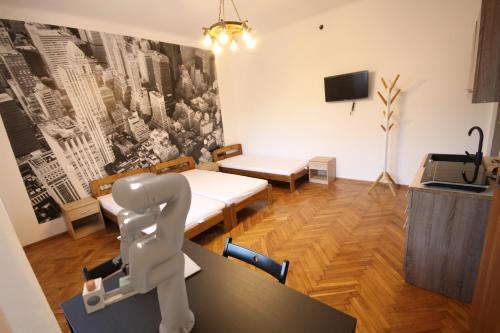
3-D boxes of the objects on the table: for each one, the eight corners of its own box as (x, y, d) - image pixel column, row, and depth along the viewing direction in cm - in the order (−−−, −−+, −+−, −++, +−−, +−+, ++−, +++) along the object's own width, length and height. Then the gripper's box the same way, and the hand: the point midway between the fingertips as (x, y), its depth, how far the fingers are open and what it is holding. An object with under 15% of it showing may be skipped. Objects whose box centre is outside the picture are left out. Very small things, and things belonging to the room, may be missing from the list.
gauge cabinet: (104, 307, 95) (100, 289, 93) (87, 314, 92) (82, 295, 90) (105, 294, 102) (101, 277, 100) (89, 300, 99) (84, 282, 97)
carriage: (146, 286, 104) (142, 266, 101) (121, 295, 99) (117, 275, 96) (145, 278, 109) (141, 258, 106) (121, 287, 104) (116, 267, 101)
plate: (149, 272, 115) (149, 268, 115) (184, 255, 127) (183, 252, 127) (164, 292, 102) (164, 289, 101) (201, 271, 114) (201, 268, 113)
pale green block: (150, 288, 104) (148, 277, 103) (104, 306, 96) (101, 294, 94) (148, 278, 110) (146, 268, 109) (105, 295, 102) (102, 283, 100)
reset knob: (95, 289, 93) (94, 283, 92) (86, 292, 91) (85, 286, 90) (96, 284, 95) (94, 278, 94) (87, 287, 94) (85, 281, 93)
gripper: (108, 246, 92) (116, 282, 96) (154, 233, 100) (159, 267, 105) (108, 238, 98) (116, 271, 103) (151, 226, 106) (156, 258, 111)
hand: (137, 269), depth 104 cm, fingers open, 9 cm apart
